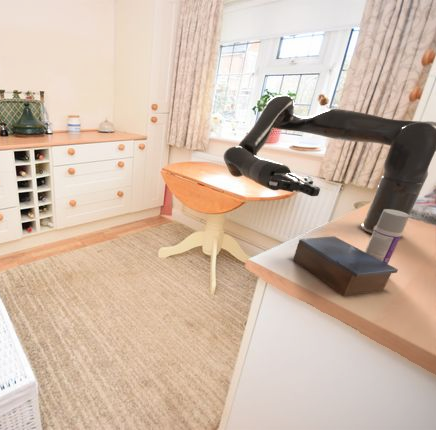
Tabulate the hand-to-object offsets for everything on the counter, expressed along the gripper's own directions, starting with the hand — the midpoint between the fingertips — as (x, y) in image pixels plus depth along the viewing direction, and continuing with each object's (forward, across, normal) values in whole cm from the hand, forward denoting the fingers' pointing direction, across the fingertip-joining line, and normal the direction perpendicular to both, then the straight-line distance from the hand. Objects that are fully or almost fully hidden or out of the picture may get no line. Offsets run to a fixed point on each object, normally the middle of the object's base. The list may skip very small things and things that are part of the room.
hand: (316, 192), depth 71 cm
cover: (+10, -2, -12) cm, 16 cm away
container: (+10, -13, -17) cm, 24 cm away
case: (+10, -2, -17) cm, 20 cm away
